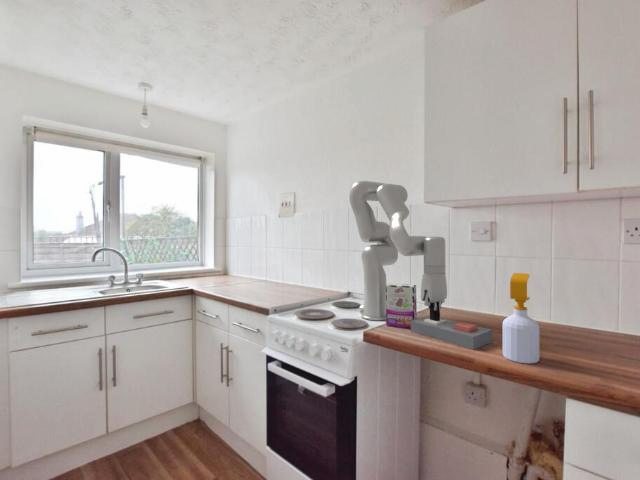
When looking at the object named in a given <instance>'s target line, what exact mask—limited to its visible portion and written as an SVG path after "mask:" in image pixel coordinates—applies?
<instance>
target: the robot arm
mask: <svg viewBox="0 0 640 480" xmlns="http://www.w3.org/2000/svg"><path fill="white" fill-rule="evenodd" d="M348 198H349V203H350V207H351V210H352V211H353V214H354V218H355V223H356V227H357V230H358V234H359V238H360V239H361V241H362V242H364V243H368V244H369V243H371V244H370V245H367V246H365V247H364V248H363V250H362V252H361V261H362V266H363V283H364V287H363V291H364V304H361V305H360V306H359V309H360V310H362V313H360V317H361V318H362V319H365V320H368V321H386V285H387V273H386V271H385V269H384V266H391V265H393V264H394V265H395V263H397V261H398V258H399V254H400V255H402V256H403V257H419V256H423V274H422V277H421V284H420V300H421V301H422V302H424V306H426V307H428V309H429V316H430V320H434V321H439V320H440V318H441V309H442V305H443V303H445V302H446V299H447V296H448V285H447V277H446V240H445V237H443V236H425V235H424V236H422V235H410V234H409V233H408V232H407V230H406V228H405V225H404V221H405V220H406V219H407V218H408V217H409V214H410V210H409V208H408V206H407V205H406V202H407V200H408V198H409V197H408V190H407V189H406V187H404V186H403V185H401V184H395V183H393V184H392V183H385V182H384V183H383V182H376V181H368V180H358V181H356V182H355V183H354V184H353V185H352V186H351V187H350V191H349V197H348ZM369 201H371V202H379V204H380V206H381V208H382V209H383V211H384V213H385V215H386V216H387V218H388V220H389V224H388V223H387V222H384V221H377V219H376V217H375V214H374V211H373V208H372V206H371V205H370V204H369V203H368V202H369ZM372 243H373V244H372ZM374 243H376V244H374Z"/></svg>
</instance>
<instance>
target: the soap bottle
mask: <svg viewBox="0 0 640 480" xmlns="http://www.w3.org/2000/svg"><path fill="white" fill-rule="evenodd" d="M529 278H530V273H522V272H520V273H519V272H513V274H512V275H511V276H510V281H509V282H510V283H509V292H510V293H509V295H510V296H509V297H510V299H511V300H514V302H516V305H514V306H513V314H512V315H509V316H507V317H506V318H504V319H503V321H502V356H503V357H504V358H505V359H507V360H509V361H511V362H515V363H518V364H519V363H520V364H527V365H528V364H536V363H538V362H539V361H540V325H539V323H538V322H537V321H535V319H533V318H532V317H530V316H529V315H528V307H526V306H525V303H526V302H527V301H529V300H530V298H531V297H530V296H528V280H529Z"/></svg>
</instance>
